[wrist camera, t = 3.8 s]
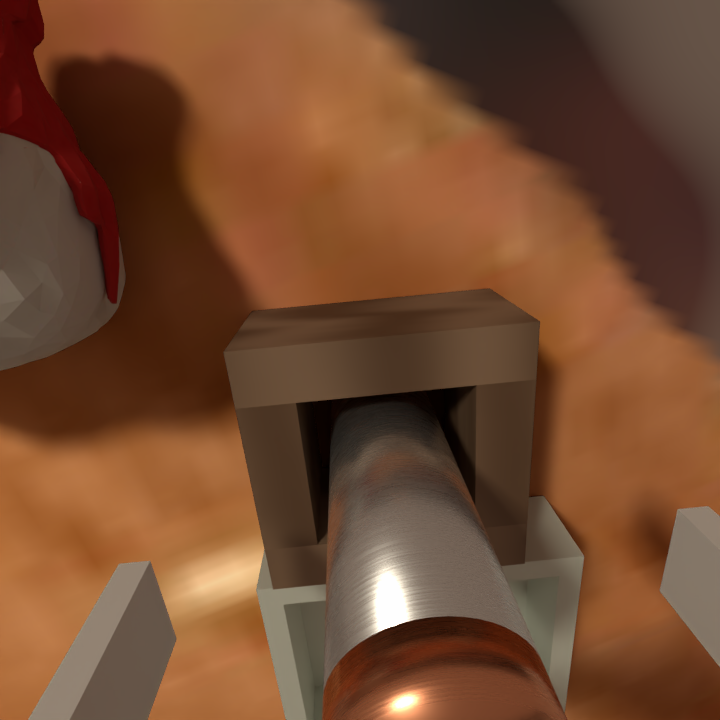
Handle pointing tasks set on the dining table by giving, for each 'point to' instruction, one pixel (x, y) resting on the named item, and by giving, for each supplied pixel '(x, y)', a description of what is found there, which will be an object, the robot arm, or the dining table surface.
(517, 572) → the tray
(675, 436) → the dining table surface
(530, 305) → the dining table surface
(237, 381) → the block
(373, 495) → the pin
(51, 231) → the candle
